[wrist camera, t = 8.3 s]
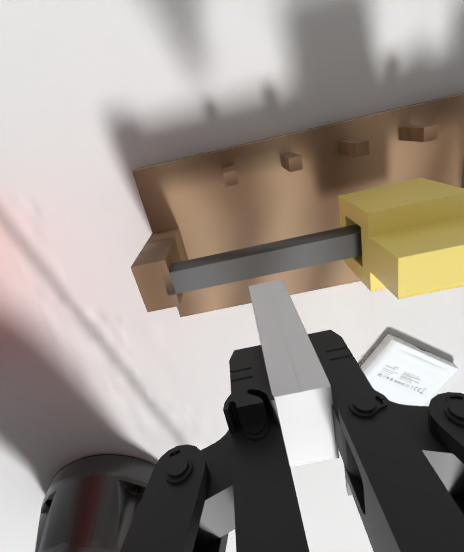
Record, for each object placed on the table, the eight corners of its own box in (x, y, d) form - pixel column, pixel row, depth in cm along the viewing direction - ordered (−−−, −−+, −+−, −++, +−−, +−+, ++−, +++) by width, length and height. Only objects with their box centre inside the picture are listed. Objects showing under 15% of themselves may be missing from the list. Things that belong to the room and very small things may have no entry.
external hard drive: (313, 416, 35) (385, 329, 31) (374, 438, 37) (450, 359, 32) (317, 429, 34) (393, 340, 29) (380, 451, 35) (461, 370, 31)
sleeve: (343, 260, 22) (398, 321, 15) (338, 195, 20) (398, 231, 13) (419, 245, 21) (509, 299, 15) (421, 177, 20) (526, 204, 13)
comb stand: (182, 309, 28) (166, 383, 20) (136, 169, 23) (91, 192, 15) (475, 250, 27) (586, 304, 19) (493, 86, 22) (654, 62, 14)
